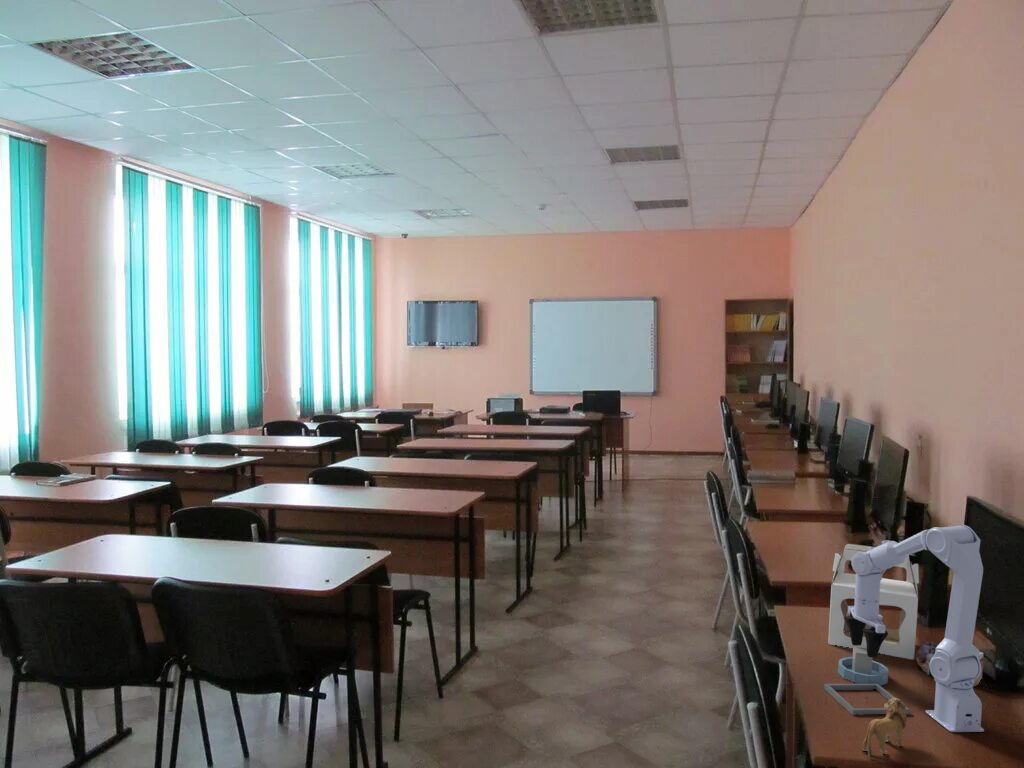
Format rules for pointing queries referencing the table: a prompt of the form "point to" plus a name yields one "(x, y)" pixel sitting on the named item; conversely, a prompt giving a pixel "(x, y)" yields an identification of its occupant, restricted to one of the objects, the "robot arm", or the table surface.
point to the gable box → (890, 594)
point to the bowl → (877, 675)
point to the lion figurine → (887, 725)
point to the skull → (925, 655)
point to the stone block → (861, 661)
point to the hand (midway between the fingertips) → (864, 650)
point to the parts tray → (832, 687)
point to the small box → (981, 670)
